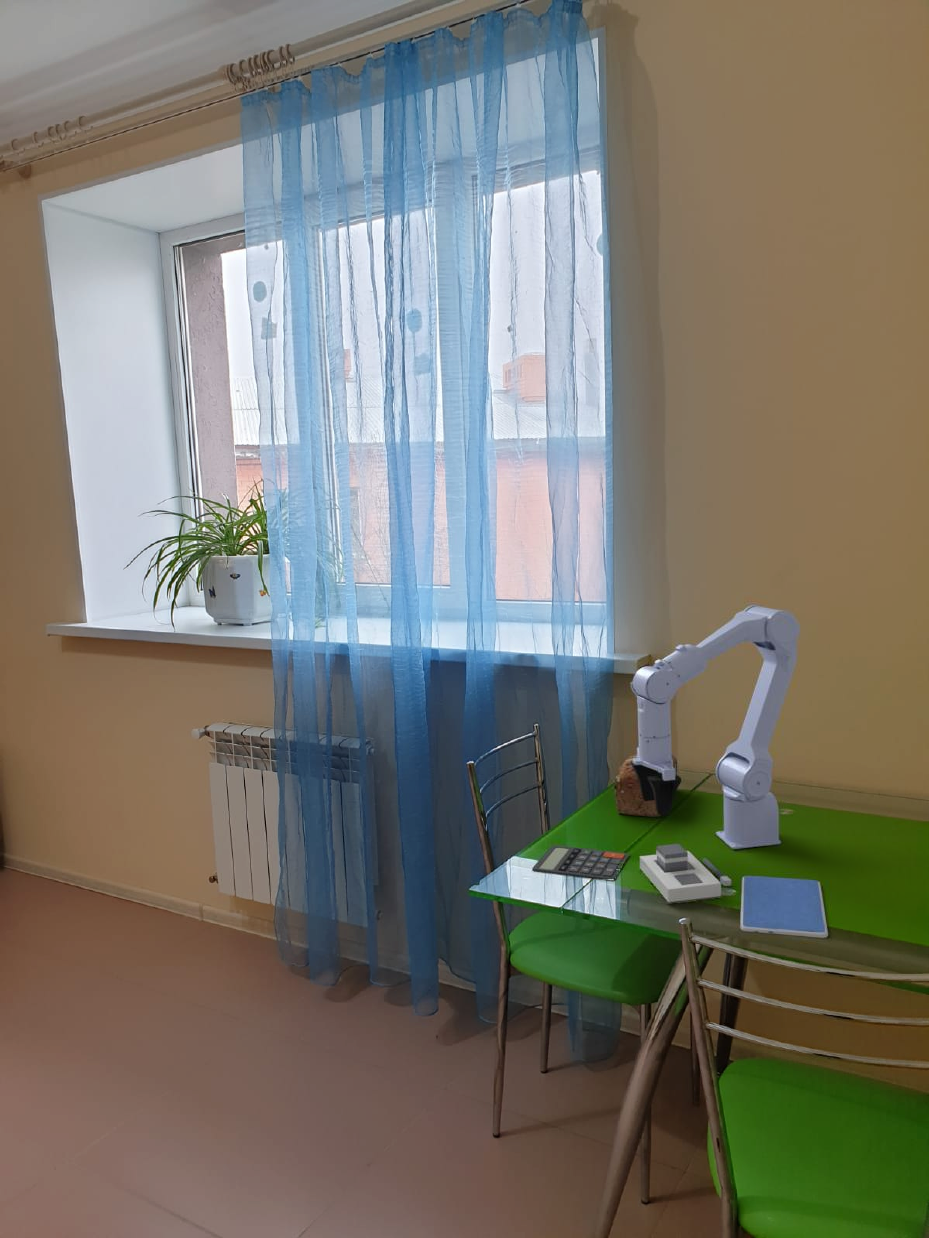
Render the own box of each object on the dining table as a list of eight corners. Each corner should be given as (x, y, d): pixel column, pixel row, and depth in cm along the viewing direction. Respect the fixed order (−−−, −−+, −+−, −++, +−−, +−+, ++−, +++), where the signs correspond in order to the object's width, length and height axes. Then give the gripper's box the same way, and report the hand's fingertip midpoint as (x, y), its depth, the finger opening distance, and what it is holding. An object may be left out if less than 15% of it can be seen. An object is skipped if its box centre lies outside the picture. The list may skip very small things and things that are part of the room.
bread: (664, 819, 193) (663, 771, 191) (612, 815, 197) (611, 768, 195) (679, 790, 210) (678, 746, 208) (631, 786, 214) (630, 743, 212)
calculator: (613, 878, 165) (531, 867, 171) (613, 883, 165) (531, 872, 171) (629, 852, 176) (551, 843, 181) (630, 857, 176) (552, 848, 182)
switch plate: (688, 864, 170) (688, 850, 169) (721, 898, 156) (721, 882, 156) (640, 870, 169) (639, 855, 168) (668, 904, 155) (668, 888, 155)
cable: (707, 861, 171) (707, 856, 171) (731, 885, 161) (731, 880, 161) (700, 862, 171) (700, 857, 171) (724, 885, 161) (724, 880, 160)
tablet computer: (828, 941, 141) (828, 933, 141) (739, 934, 145) (739, 926, 145) (820, 887, 160) (820, 879, 160) (741, 881, 163) (741, 874, 163)
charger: (679, 870, 167) (678, 843, 166) (688, 880, 163) (687, 852, 162) (656, 873, 166) (656, 845, 165) (665, 883, 162) (664, 855, 161)
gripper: (620, 725, 177) (622, 796, 179) (646, 746, 163) (648, 823, 165) (657, 722, 178) (658, 792, 180) (686, 743, 164) (687, 818, 166)
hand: (656, 807), depth 173 cm, fingers open, 7 cm apart
